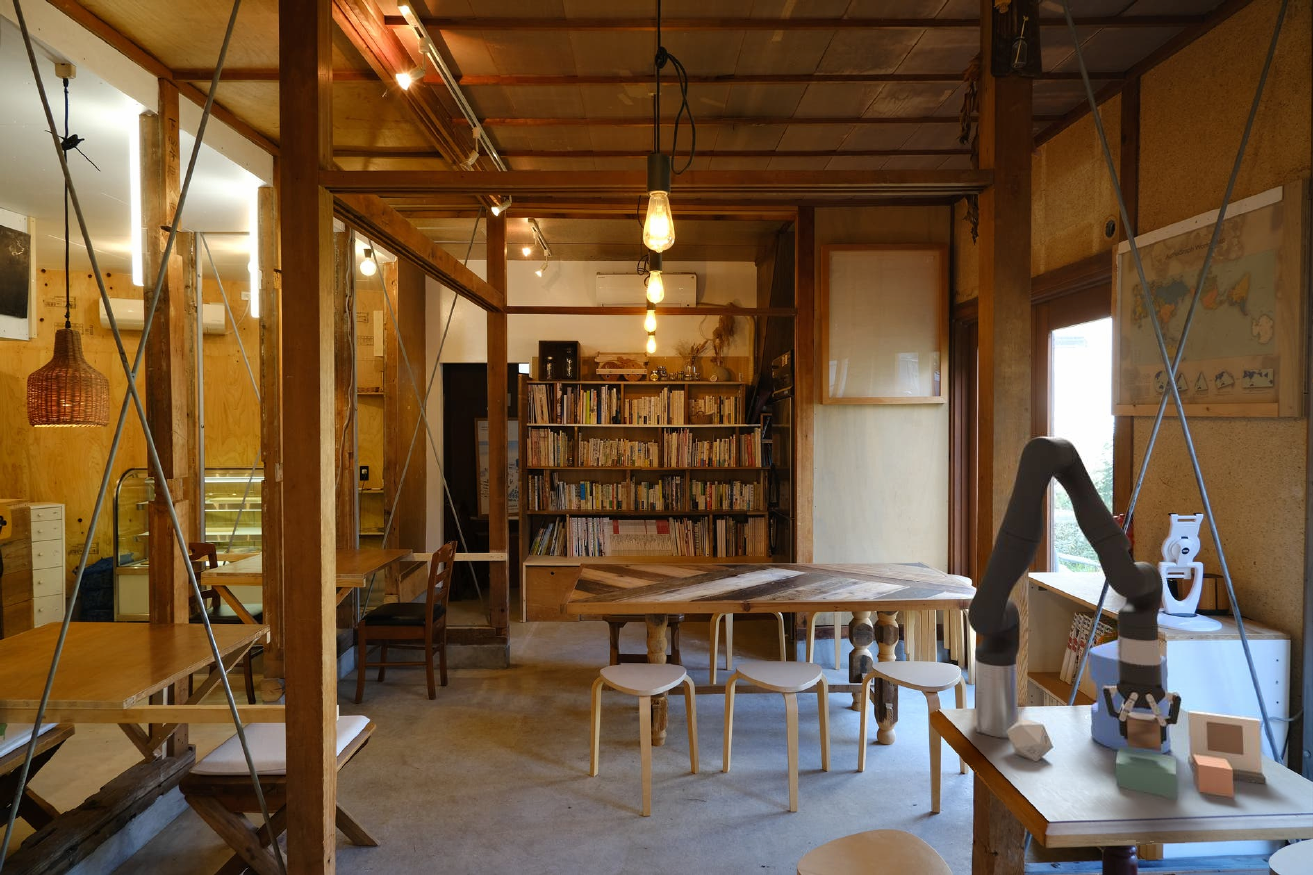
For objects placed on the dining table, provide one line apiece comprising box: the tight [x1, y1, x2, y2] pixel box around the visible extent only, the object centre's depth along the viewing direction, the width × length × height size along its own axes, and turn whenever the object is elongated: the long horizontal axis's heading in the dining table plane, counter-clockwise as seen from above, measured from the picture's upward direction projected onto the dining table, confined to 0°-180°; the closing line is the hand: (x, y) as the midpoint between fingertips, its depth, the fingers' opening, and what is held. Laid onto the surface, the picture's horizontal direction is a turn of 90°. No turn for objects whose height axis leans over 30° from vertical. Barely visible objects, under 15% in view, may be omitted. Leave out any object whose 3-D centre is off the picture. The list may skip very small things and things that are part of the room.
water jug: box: [1088, 638, 1171, 755], centre depth 168 cm, size 16×16×28 cm
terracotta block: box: [1192, 754, 1235, 798], centre depth 145 cm, size 6×6×6 cm
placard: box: [1187, 710, 1267, 784], centre depth 152 cm, size 12×6×12 cm, turn 63°
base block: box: [1115, 746, 1178, 799], centre depth 148 cm, size 10×10×5 cm
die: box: [1006, 717, 1054, 762], centre depth 162 cm, size 8×9×10 cm
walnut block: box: [1126, 712, 1161, 751], centre depth 148 cm, size 6×6×6 cm
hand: (1142, 739), depth 148 cm, fingers closed on walnut block, 5 cm apart
